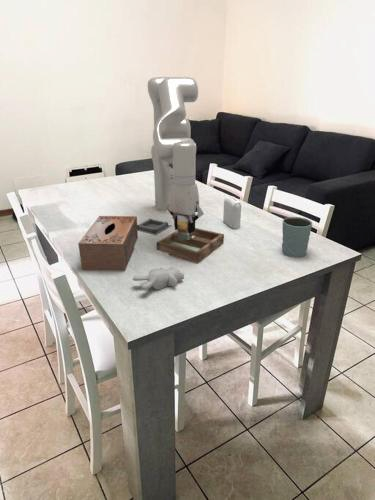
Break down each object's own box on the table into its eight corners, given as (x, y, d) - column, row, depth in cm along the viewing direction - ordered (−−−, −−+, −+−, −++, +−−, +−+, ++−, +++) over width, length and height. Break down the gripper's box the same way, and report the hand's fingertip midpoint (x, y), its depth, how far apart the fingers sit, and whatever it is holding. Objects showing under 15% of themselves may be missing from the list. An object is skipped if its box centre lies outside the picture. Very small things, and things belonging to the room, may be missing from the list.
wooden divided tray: (185, 234, 149) (185, 225, 147) (223, 243, 141) (223, 234, 139) (157, 252, 134) (156, 242, 132) (198, 263, 125) (198, 253, 124)
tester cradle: (149, 222, 161) (149, 217, 160) (172, 227, 155) (172, 222, 154) (132, 231, 152) (132, 225, 150) (155, 237, 146) (155, 231, 145)
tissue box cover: (102, 239, 145) (99, 215, 140) (138, 240, 144) (136, 216, 140) (82, 270, 122) (78, 243, 117) (125, 271, 121) (122, 244, 117)
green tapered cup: (303, 260, 127) (307, 228, 122) (275, 254, 132) (278, 223, 127) (310, 250, 135) (315, 219, 130) (284, 244, 140) (287, 214, 135)
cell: (182, 233, 134) (182, 208, 130) (194, 236, 132) (194, 210, 127) (174, 238, 130) (174, 212, 126) (186, 241, 128) (186, 214, 123)
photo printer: (221, 221, 162) (222, 194, 156) (230, 220, 163) (231, 193, 158) (232, 229, 153) (233, 201, 148) (241, 228, 154) (243, 200, 149)
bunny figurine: (189, 273, 111) (145, 282, 103) (187, 288, 113) (144, 298, 105) (173, 261, 118) (130, 268, 110) (172, 276, 120) (130, 283, 112)
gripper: (156, 179, 123) (158, 229, 131) (200, 186, 115) (200, 238, 123) (169, 174, 129) (170, 222, 137) (212, 180, 121) (210, 231, 129)
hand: (184, 229), depth 130 cm, fingers closed on cell, 5 cm apart
